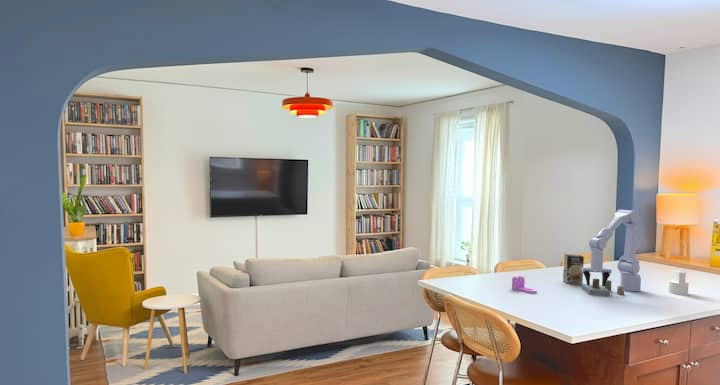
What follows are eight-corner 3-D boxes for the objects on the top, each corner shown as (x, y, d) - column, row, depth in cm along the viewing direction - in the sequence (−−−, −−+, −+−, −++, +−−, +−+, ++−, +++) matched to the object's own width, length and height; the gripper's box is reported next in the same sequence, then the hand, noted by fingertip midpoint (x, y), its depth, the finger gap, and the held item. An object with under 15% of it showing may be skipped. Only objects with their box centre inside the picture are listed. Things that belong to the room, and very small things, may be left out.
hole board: (601, 289, 265) (601, 285, 265) (610, 295, 252) (610, 291, 251) (581, 288, 267) (582, 284, 267) (589, 294, 253) (589, 289, 253)
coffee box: (566, 283, 279) (567, 255, 279) (562, 281, 286) (563, 254, 285) (582, 284, 278) (584, 256, 278) (579, 282, 285) (580, 254, 284)
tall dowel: (597, 291, 261) (598, 278, 260) (599, 293, 258) (600, 279, 257) (591, 291, 261) (592, 278, 261) (593, 292, 258) (593, 279, 258)
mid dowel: (609, 290, 265) (610, 280, 265) (611, 291, 262) (612, 281, 262) (603, 289, 266) (604, 279, 266) (605, 291, 263) (606, 281, 262)
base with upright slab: (691, 295, 257) (692, 273, 257) (672, 294, 259) (673, 272, 259) (683, 291, 266) (684, 270, 266) (665, 290, 268) (666, 269, 268)
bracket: (511, 289, 262) (512, 276, 262) (518, 288, 265) (519, 275, 265) (532, 294, 251) (532, 280, 251) (539, 293, 254) (539, 279, 254)
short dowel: (622, 293, 258) (622, 286, 257) (624, 295, 254) (625, 287, 254) (616, 293, 258) (616, 285, 258) (618, 294, 255) (618, 287, 255)
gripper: (608, 259, 262) (607, 285, 262) (580, 258, 264) (579, 283, 264) (613, 262, 255) (612, 287, 255) (584, 260, 257) (583, 286, 257)
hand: (595, 285), depth 259 cm, fingers open, 7 cm apart
